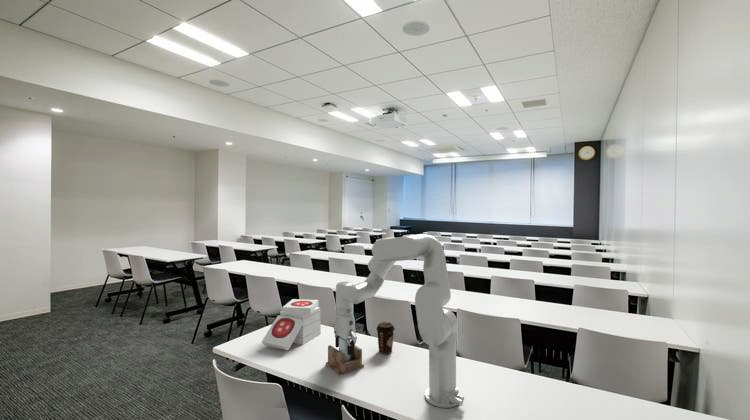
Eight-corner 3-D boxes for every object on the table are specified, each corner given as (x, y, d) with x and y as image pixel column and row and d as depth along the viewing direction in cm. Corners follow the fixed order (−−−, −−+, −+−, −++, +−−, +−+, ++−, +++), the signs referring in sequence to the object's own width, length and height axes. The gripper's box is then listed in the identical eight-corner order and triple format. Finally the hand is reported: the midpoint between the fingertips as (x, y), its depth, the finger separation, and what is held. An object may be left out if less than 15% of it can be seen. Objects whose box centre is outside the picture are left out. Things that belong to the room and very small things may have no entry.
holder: (364, 367, 141) (364, 348, 141) (340, 375, 134) (340, 356, 133) (348, 357, 150) (348, 339, 150) (325, 364, 143) (325, 346, 143)
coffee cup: (395, 348, 160) (395, 321, 160) (394, 356, 151) (394, 328, 151) (377, 347, 160) (377, 321, 160) (375, 355, 152) (375, 327, 152)
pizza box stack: (258, 348, 160) (258, 311, 160) (298, 328, 187) (298, 296, 187) (289, 356, 151) (289, 317, 151) (326, 334, 178) (326, 300, 178)
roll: (353, 364, 141) (353, 338, 141) (343, 367, 138) (342, 341, 138) (346, 359, 146) (346, 334, 145) (336, 363, 142) (336, 337, 142)
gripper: (363, 314, 137) (363, 354, 137) (341, 304, 151) (341, 341, 151) (348, 317, 133) (348, 360, 133) (327, 307, 146) (327, 345, 146)
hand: (344, 350), depth 142 cm, fingers open, 9 cm apart
